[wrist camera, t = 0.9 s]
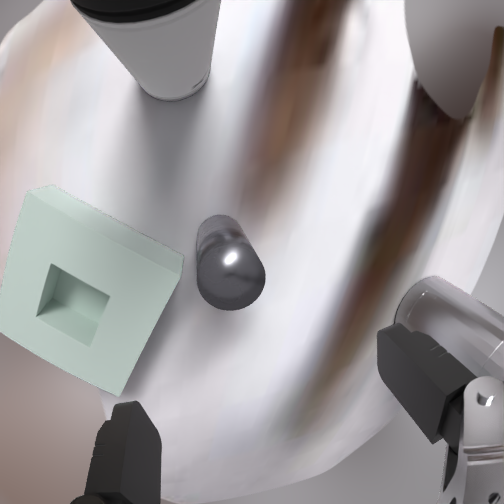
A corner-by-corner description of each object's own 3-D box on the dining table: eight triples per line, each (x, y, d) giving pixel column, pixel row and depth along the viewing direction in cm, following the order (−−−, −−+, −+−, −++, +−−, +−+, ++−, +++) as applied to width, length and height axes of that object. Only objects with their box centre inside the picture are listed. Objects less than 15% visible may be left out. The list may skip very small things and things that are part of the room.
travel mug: (220, 93, 24) (272, -43, 5) (143, 109, 24) (26, 15, 5) (208, 30, 22) (236, -142, 3) (134, 46, 22) (47, -101, 3)
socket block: (184, 255, 28) (181, 276, 23) (127, 366, 30) (119, 397, 25) (53, 184, 24) (27, 191, 19) (16, 306, 26) (-6, 328, 21)
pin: (251, 228, 28) (278, 266, 19) (228, 266, 29) (243, 320, 19) (211, 206, 27) (218, 234, 18) (189, 246, 28) (185, 292, 18)
